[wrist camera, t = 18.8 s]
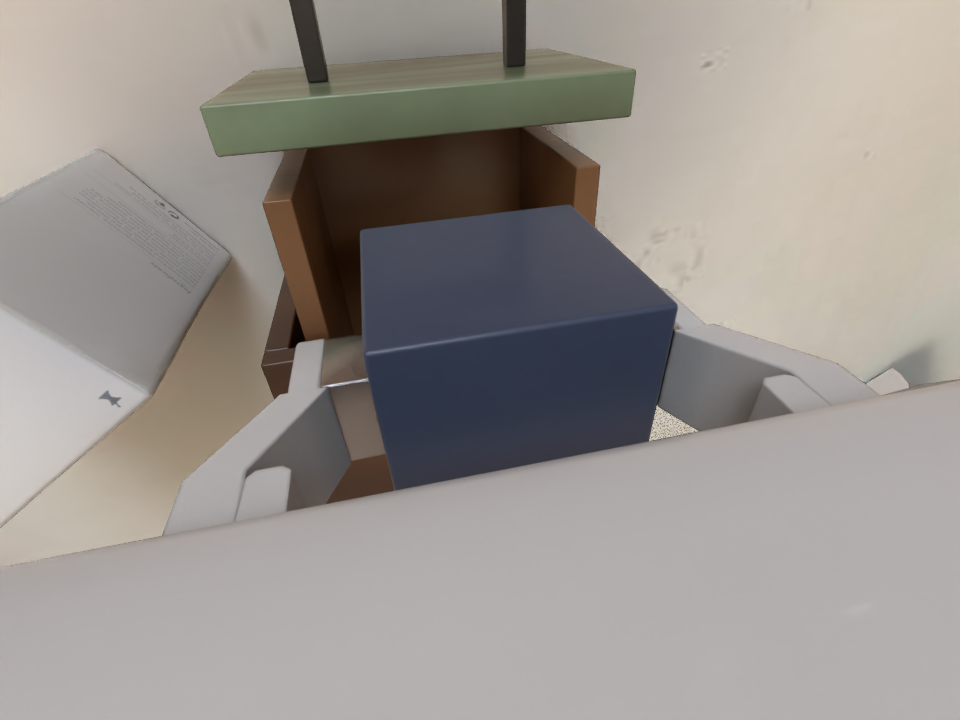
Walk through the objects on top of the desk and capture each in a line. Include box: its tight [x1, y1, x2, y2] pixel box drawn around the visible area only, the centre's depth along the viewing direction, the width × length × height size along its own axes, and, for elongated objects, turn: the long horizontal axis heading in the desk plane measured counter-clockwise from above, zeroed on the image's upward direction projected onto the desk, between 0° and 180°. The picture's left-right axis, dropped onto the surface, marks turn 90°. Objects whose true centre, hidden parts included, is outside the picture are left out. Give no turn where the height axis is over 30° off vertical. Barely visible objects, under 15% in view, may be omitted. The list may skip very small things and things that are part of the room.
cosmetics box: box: [0, 149, 231, 528], centre depth 18 cm, size 10×6×10 cm, turn 126°
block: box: [360, 204, 678, 491], centre depth 10 cm, size 4×4×4 cm
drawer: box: [200, 0, 636, 341], centre depth 18 cm, size 18×11×8 cm, turn 3°
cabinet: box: [261, 275, 394, 504], centre depth 24 cm, size 15×13×10 cm
